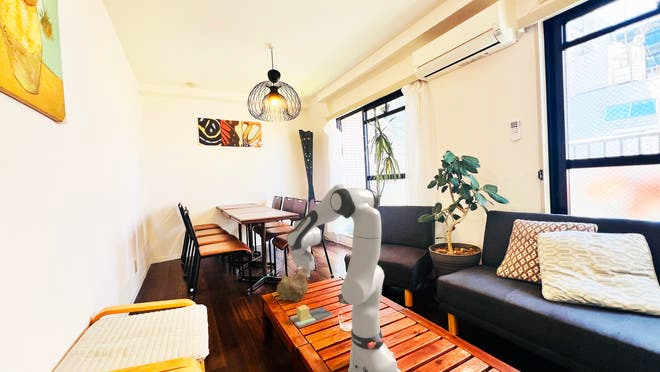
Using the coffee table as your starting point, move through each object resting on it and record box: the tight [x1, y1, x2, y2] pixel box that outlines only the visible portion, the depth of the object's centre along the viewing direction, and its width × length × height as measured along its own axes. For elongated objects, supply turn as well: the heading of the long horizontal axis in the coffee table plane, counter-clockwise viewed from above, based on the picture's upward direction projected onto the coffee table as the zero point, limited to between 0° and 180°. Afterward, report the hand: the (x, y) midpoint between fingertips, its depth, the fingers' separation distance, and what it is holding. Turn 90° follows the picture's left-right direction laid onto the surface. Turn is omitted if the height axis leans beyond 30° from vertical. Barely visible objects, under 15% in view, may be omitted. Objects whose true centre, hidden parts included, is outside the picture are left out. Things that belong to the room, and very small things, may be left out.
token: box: [296, 304, 310, 322], centre depth 147 cm, size 5×5×6 cm
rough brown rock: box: [275, 271, 309, 303], centre depth 175 cm, size 23×17×15 cm
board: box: [289, 306, 334, 329], centre depth 149 cm, size 12×21×1 cm, turn 122°
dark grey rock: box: [338, 293, 350, 305], centre depth 173 cm, size 19×4×15 cm
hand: (303, 274), depth 147 cm, fingers open, 8 cm apart
